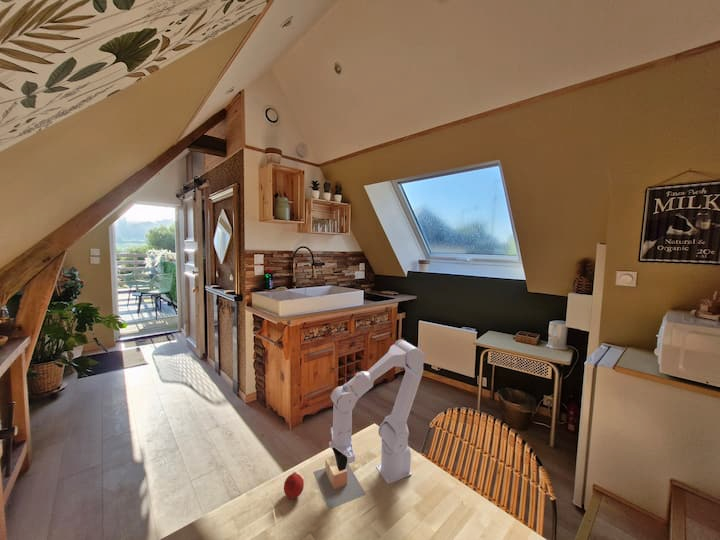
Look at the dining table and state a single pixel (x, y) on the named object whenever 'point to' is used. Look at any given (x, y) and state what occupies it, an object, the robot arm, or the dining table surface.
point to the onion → (293, 485)
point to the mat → (342, 493)
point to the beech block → (335, 473)
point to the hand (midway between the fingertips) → (341, 468)
